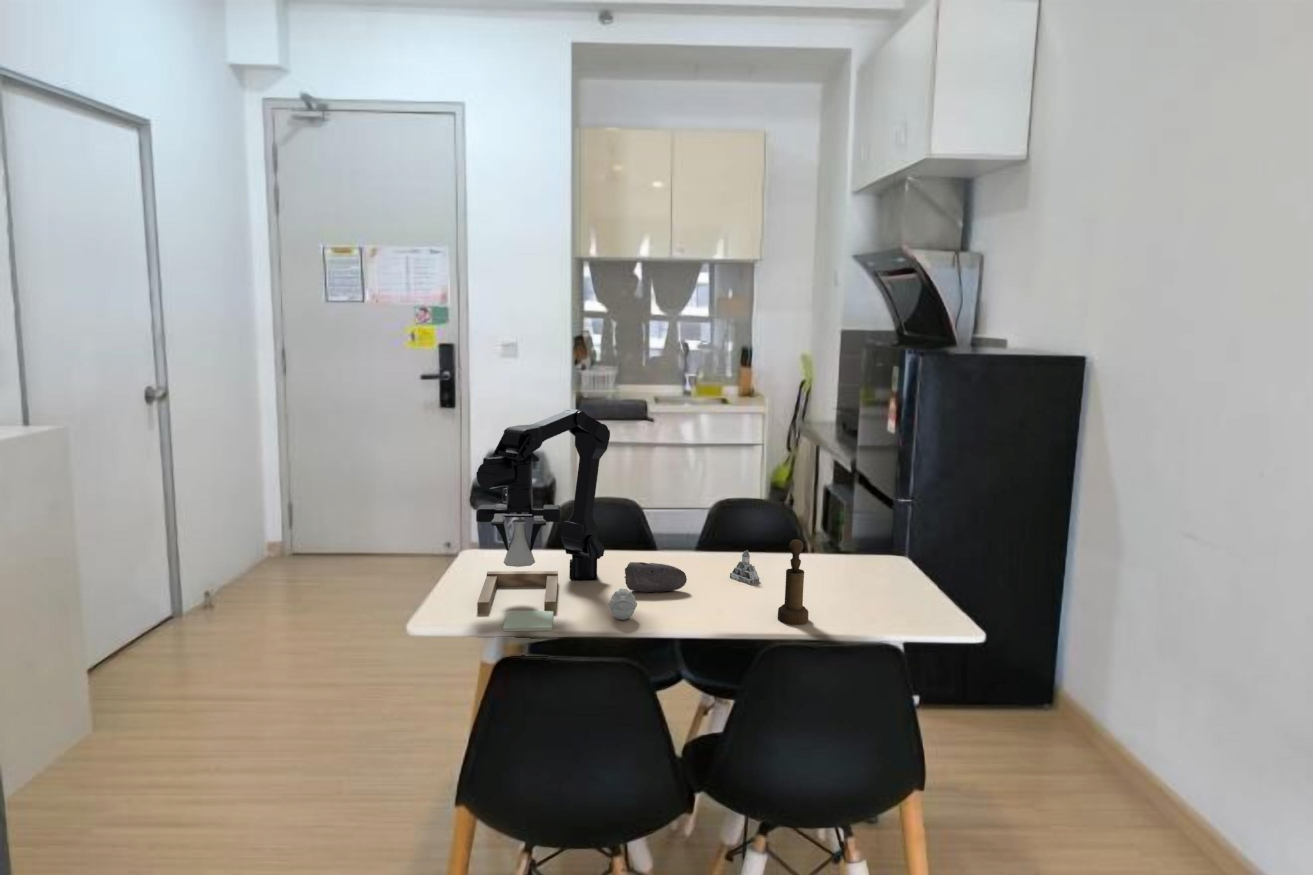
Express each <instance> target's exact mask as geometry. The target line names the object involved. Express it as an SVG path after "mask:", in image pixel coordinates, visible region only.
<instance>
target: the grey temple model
mask: <svg viewBox="0 0 1313 875" xmlns="http://www.w3.org/2000/svg"><path fill="white" fill-rule="evenodd" d="M741 557H742V558H741V561H738V563H737V564H736V567H734V569H733V570H732V572H730V573H729V579H733V580H736V581H738V582H741V581H742V583H744V584H747V585H753V584H756V583H755V582H757V583H759V582H760V577H759V575H758V571H757V570H756V568H755V565H753V564H752V563H750V561H751V559H750V557H751V556H750V553H749V550H748V549H747V550H744V551H743V552H742V554H741ZM752 583H753V584H752Z"/></svg>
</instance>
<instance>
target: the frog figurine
mask: <svg viewBox="0 0 1313 875" xmlns="http://www.w3.org/2000/svg"><path fill="white" fill-rule="evenodd" d="M608 606H609V609H610V610H611V614H612V615H613V616H614V618H616V619H617V620H621V621H622V620H623V621H624V620H627V619H630V618H631V617H632V616H633V614H634V613H635V610H636V608H637V606H638V602H637V601H636V598H635V595H634V594H633V593H632V591H631V590H628V589H627V588H620V589H618V590H617V591H614V593H613V594H612V595H611V598H610V600H609V602H608Z"/></svg>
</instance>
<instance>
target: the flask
mask: <svg viewBox="0 0 1313 875" xmlns="http://www.w3.org/2000/svg"><path fill="white" fill-rule="evenodd" d="M511 523H512V524H513V531H512V536H511V540H510V542H509V549H508V551H507V550H506V555H505V557H504V559H503V564H504V565H505V566H507V567H516V568H520V567H522V568H523V567H530V566H532V565H534V564H535V563H536V560H535V557H534V555H533V554H534V553H533V552H532V551H533V550H532V551H530V543H529V541H528V536H527V532H526V524H527V520H526V519H521V518H517V519H513V520H512V522H511Z"/></svg>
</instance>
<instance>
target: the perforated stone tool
mask: <svg viewBox="0 0 1313 875" xmlns="http://www.w3.org/2000/svg"><path fill="white" fill-rule="evenodd" d="M624 575H625V576H624V579H625V585H626V588H628V589H629V591H636V592H641V593H642V592H645V593H646V592H647V593H650V592H651V593H655V592H656V593H659V592H672V591H678V590H679V589H682V588H683V587H685V585H686V584H687V580H688V579H687V575H686V572H684V571H683V570H681V569H680V568H678V567H676V566H673V565H669V564H665V563H655V562H640V561H637V562H635V561H634V562H633V561H632V562H631V561H630V562H629V563H627V566H626V567H625V568H624Z"/></svg>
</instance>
